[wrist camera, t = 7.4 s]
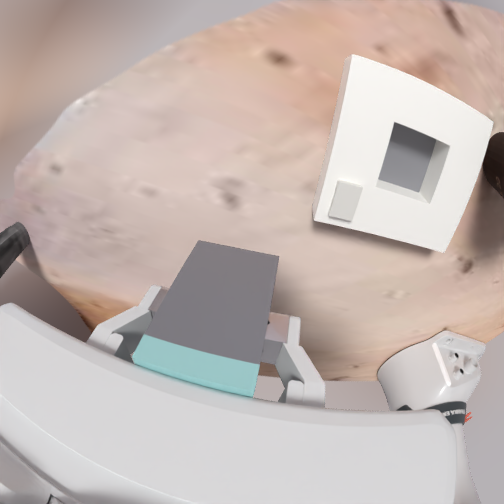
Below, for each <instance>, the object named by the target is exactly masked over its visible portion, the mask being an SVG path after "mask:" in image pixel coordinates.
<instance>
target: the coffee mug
mask: <svg viewBox="0 0 504 504" xmlns="http://www.w3.org/2000/svg"><path fill="white" fill-rule="evenodd" d="M483 169H484V173H485V176H486V179H487V180H488V182H489V183H490V184H491V185H492V186H493V187H494V188H495V189H496V190H497V191H498V193H499V194H500V195H501V196H502V197H503V198H504V132H499V133H496V134H495V135H493V136H492V137H491V138H490V140H489V142H488V146H487V149H486V153H485V156H484V159H483Z"/></svg>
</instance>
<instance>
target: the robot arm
mask: <svg viewBox="0 0 504 504" xmlns="http://www.w3.org/2000/svg"><path fill="white" fill-rule="evenodd" d="M168 291H169V288H166V287H162V286H159V285H155V284H153V285H152V286H151V287H150V289H149V290H148V292H147V293H146V295H145V296H144V298H143V299H142V301H141V303H140V304H139V306H138V307H137V306H135V307H133V308H131V309H129V310H127V311H125V312H123V313H121V314H119V315H117V316H115V317H113V318H111V319H109V320H107V321H105V322H103V323H101V324H99V325H98V326H97V327H96V329H95V330H94V332H93V333H92V335H91V336H90V338H89V339H88V341H87V342H86V343H84V342H82V341H80V340H78V339H76V338H74V337H72V336H70V335H68V334H66V333H64V332H62V331H60V330H58V329H57V328H55V327H53V326H51V325H49V324H47V323H46V322H44V321H42V320H40V319H39V318H37V317H35V316H34V315H32V314H30V313H28V312H27V311H25V310H24V309H22V308H21V307H19V306H18V305H16V304H14V303H8V304H5V305H2V306H0V504H481V502H480V499H479V497H478V494H477V491H476V488H475V485H474V482H473V479H472V476H471V472H470V467H469V462H468V455H467V448H466V442H465V436H464V430H463V425H464V423H465V422H466V421H468V420H469V419H471V418H472V417H470V418H468V419H466V418H467V417H468V416H469V415H470V414H471V412H469V413H468V414H467V415H466V402H467V400H468V399H469V397H470V395H471V394H472V392H473V391H474V389H475V387H476V386H477V384H478V382H479V380H480V378H481V369H480V364H479V361H478V360H479V359H480V358H481V356H482V355H483V353H484V351H485V349H486V346H485V343H483V342H480V341H477V340H474V339H471V338H468V337H465V336H463V335H460V334H457V333H454V332H451V331H447V330H446V331H442V332H440V333H439V334H437V335H435V336H434V337H432V338H430V339H429V340H427V341H424V342H421V343H418V344H415V345H413V346H410V347H408V348H406V349H404V350H402V351H400V352H398V353H397V354H395V355H394V356H392V357H391V358H390V359H388V360H387V361H386V362H385V363H384V364H383V365H382V366H381V368H380V369H379V371H378V374H377V377H378V380H379V382H380V383H381V386H382V388H383V390H384V393H385V395H386V398H387V402H388V405H389V409H390V411H361V410H342V409H329V408H328V409H327V408H324V407H325V406H324V405H325V383H324V381H323V379H322V378H321V376H320V375H319V373H318V371H317V370H316V368H315V367H314V365H313V363H312V362H311V360H310V359H309V357H308V355H307V354H306V352H305V350H304V349H303V347H302V346H299V338H300V324H301V318H300V317H295V316H289V315H285V314H279V313H274V312H270V313H269V318H268V324H267V329H266V335H265V340H264V346H263V351H262V356H261V361H260V362H265V363H269V364H274V365H275V367H276V369H277V371H278V374H279V376H280V378H281V380H282V382H283V385H284V387H285V390H284V392H283V393H282V395H281V397H280V399H279V401H278V402H273V401H268V400H262V399H257V398H252V397H247V396H242V395H238V394H233V393H229V392H224V391H220V390H216V389H212V388H208V387H205V386H201V385H197V384H194V383H190V382H187V381H184V380H180V379H177V378H174V377H171V376H167V375H164V374H161V373H158V372H155V371H153V370H150V369H147V368H144V367H141V366H139V365H136V364H134V363H133V360H132V358H131V355H130V354H132V353H133V352H134V351H135V350H136V348H137V346H138V344H139V343H140V341H141V339H142V337H143V335H144V333H145V331H146V330H147V328H148V326H149V324H150V322H151V321H152V319H153V317H154V315H155V313H156V312H157V310H158V308H159V306H160V305H161V303H162V301H163V299H164V298H165V296H166V294H167V292H168Z"/></svg>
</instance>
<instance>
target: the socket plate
mask: <svg viewBox="0 0 504 504" xmlns="http://www.w3.org/2000/svg"><path fill="white" fill-rule="evenodd" d="M493 123H494V122H493V121H491V120H490V119H489V118H487V117H486V116H484V115H483V114H481V113H480V112H478V111H477V110H475V109H473V108H472V107H470V106H469V105H467V104H465V103H464V102H462V101H460V100H459V99H457V98H455V97H453V96H452V95H450V94H448V93H446V92H444V91H442V90H440V89H438V88H437V87H435V86H433V85H431V84H428V83H426V82H424V81H422V80H420V79H418V78H416V77H413V76H411V75H409V74H407V73H404V72H402V71H399V70H397V69H394V68H392V67H389V66H387V65H384V64H381V63H378V62H376V61H373V60H370V59H367V58H364V57H361V56H357V55H354V54H352V55H350V56H348V57H346V58H345V61H344V67H343V72H342V77H341V82H340V87H339V92H338V97H337V102H336V107H335V112H334V116H333V121H332V125H331V130H330V134H329V139H328V143H327V147H326V152H325V156H324V160H323V164H322V168H321V172H320V176H319V180H318V184H317V188H316V192H315V196H314V200H313V204H312V209H313V218H314V221H319V222H323V223H328V224H332V225H337V226H341V227H345V228H350V229H354V230H358V231H362V232H366V233H371V234H375V235H379V236H383V237H387V238H391V239H395V240H398V241H402V242H406V243H410V244H414V245H417V246H421V247H425V248H428V249H432V250H436V251H439V252H443V253H444V252H445V250H446V248H447V246H448V244H449V242H450V240H451V238H452V236H453V234H454V232H455V230H456V228H457V226H458V224H459V222H460V219H461V217H462V215H463V213H464V210H465V208H466V206H467V203H468V201H469V198H470V196H471V193H472V191H473V188H474V185H475V183H476V180H477V177H478V174H479V171H480V168H481V165H482V162H483V159H484V156H485V153H486V149H487V146H488V142H489V139H490V135H491V131H492V127H493Z"/></svg>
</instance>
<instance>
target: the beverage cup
mask: <svg viewBox="0 0 504 504" xmlns="http://www.w3.org/2000/svg"><path fill="white" fill-rule="evenodd" d="M28 244H29V235H28V232H27V231H26V229H25V227H24V226H23V225H22V224H21V223H19V222H16V223H15V224H14V225H12V226H10V227H8V228H7V229H5V230H4V231H3V232H1V233H0V278H1V277H2V275H3V274H4V273H5V272H6V270H7V269H8V268H9V266H10V265H11V264H12V263H13V262H14V261H15V259H16V258H17V257H18V256H19V255H20V253H21V252H22V251H23V250H24V248H25V247H26V246H27V245H28Z"/></svg>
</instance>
